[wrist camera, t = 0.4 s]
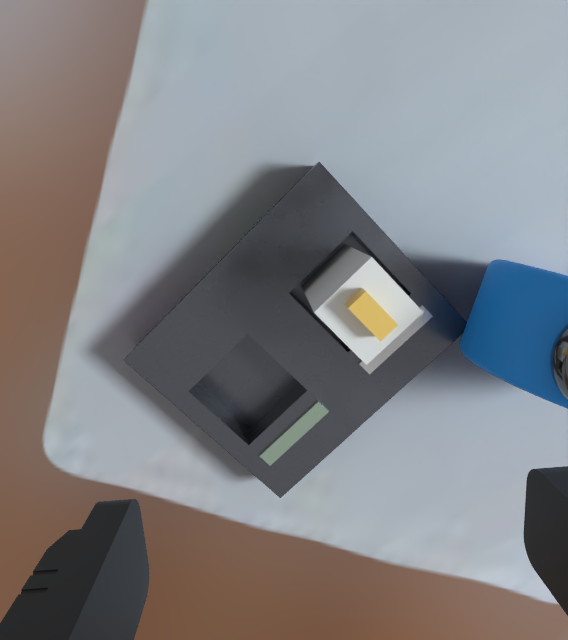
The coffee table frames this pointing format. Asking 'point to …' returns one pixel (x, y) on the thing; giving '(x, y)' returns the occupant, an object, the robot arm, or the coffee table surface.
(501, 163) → the coffee table surface
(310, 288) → the plug
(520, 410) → the coffee table surface
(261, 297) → the panel
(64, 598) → the robot arm
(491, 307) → the alarm clock
